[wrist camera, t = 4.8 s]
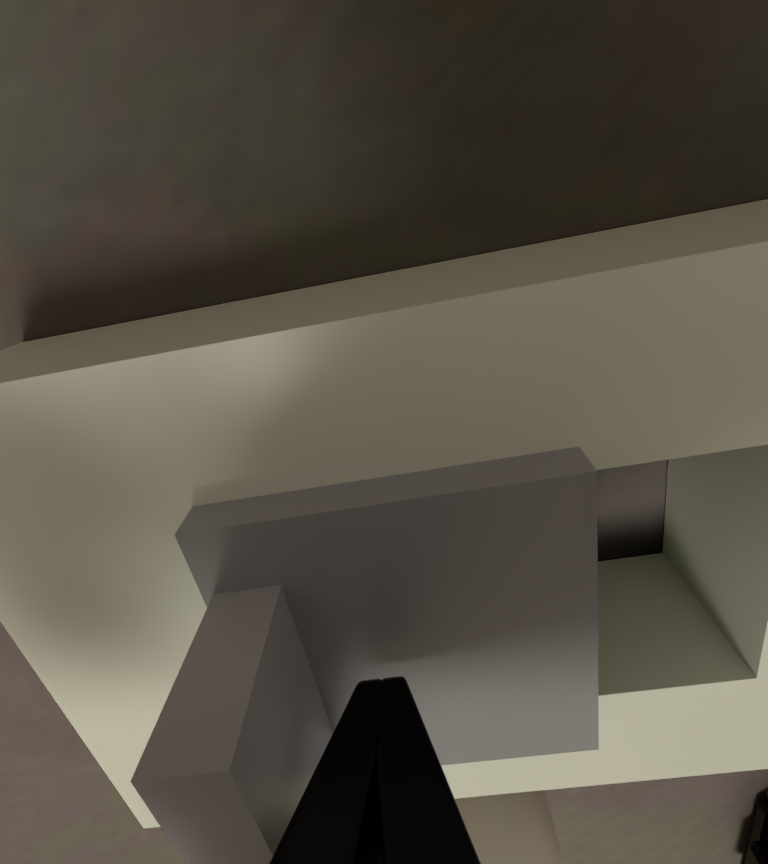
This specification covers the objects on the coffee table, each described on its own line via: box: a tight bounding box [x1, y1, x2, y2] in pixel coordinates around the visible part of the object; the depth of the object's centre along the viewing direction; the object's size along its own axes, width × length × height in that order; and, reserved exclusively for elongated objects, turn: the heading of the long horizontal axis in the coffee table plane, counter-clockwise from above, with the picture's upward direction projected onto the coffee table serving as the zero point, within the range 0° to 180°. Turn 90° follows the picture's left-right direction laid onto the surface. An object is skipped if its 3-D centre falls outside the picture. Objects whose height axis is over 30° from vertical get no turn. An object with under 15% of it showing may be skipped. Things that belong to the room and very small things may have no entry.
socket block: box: [0, 199, 768, 828], centre depth 12 cm, size 18×12×4 cm, turn 101°
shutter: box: [130, 447, 599, 864], centre depth 8 cm, size 7×7×4 cm
